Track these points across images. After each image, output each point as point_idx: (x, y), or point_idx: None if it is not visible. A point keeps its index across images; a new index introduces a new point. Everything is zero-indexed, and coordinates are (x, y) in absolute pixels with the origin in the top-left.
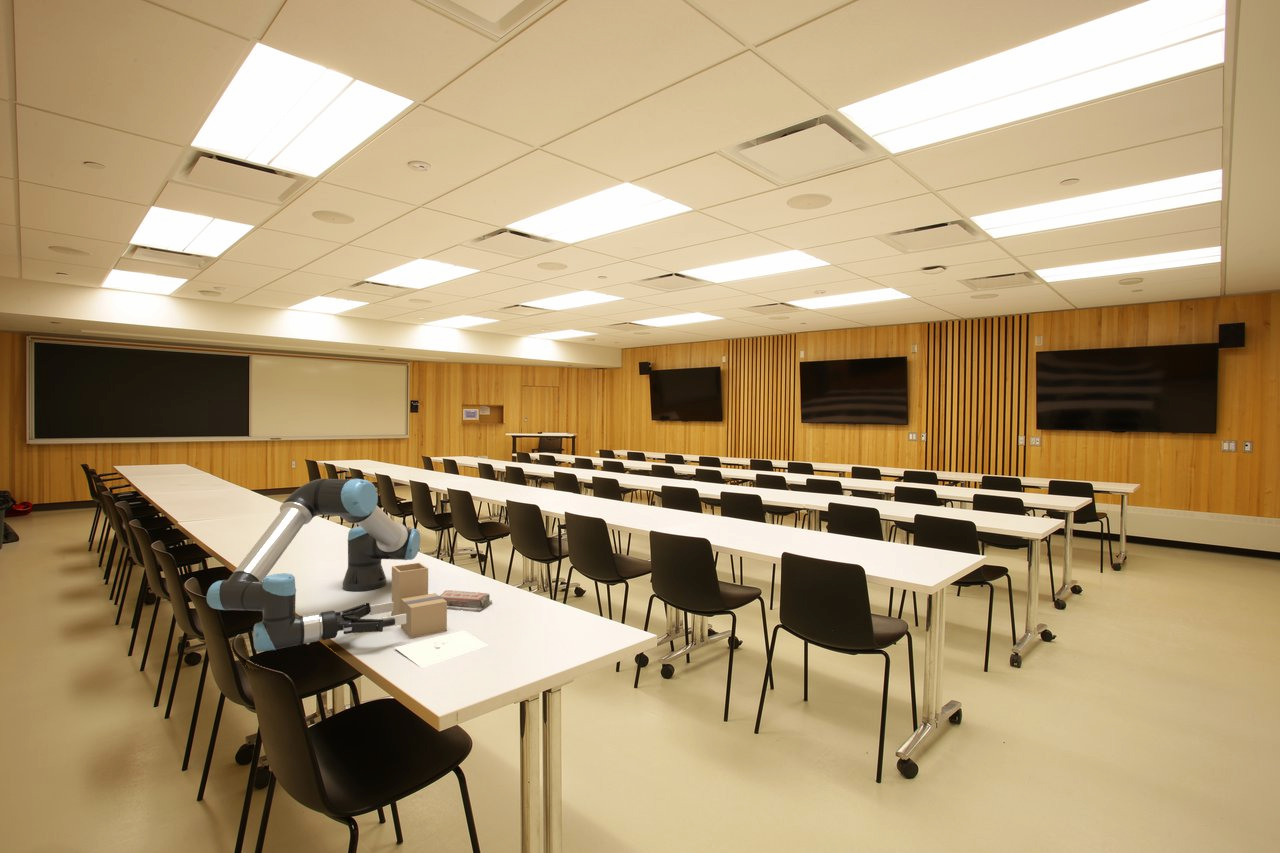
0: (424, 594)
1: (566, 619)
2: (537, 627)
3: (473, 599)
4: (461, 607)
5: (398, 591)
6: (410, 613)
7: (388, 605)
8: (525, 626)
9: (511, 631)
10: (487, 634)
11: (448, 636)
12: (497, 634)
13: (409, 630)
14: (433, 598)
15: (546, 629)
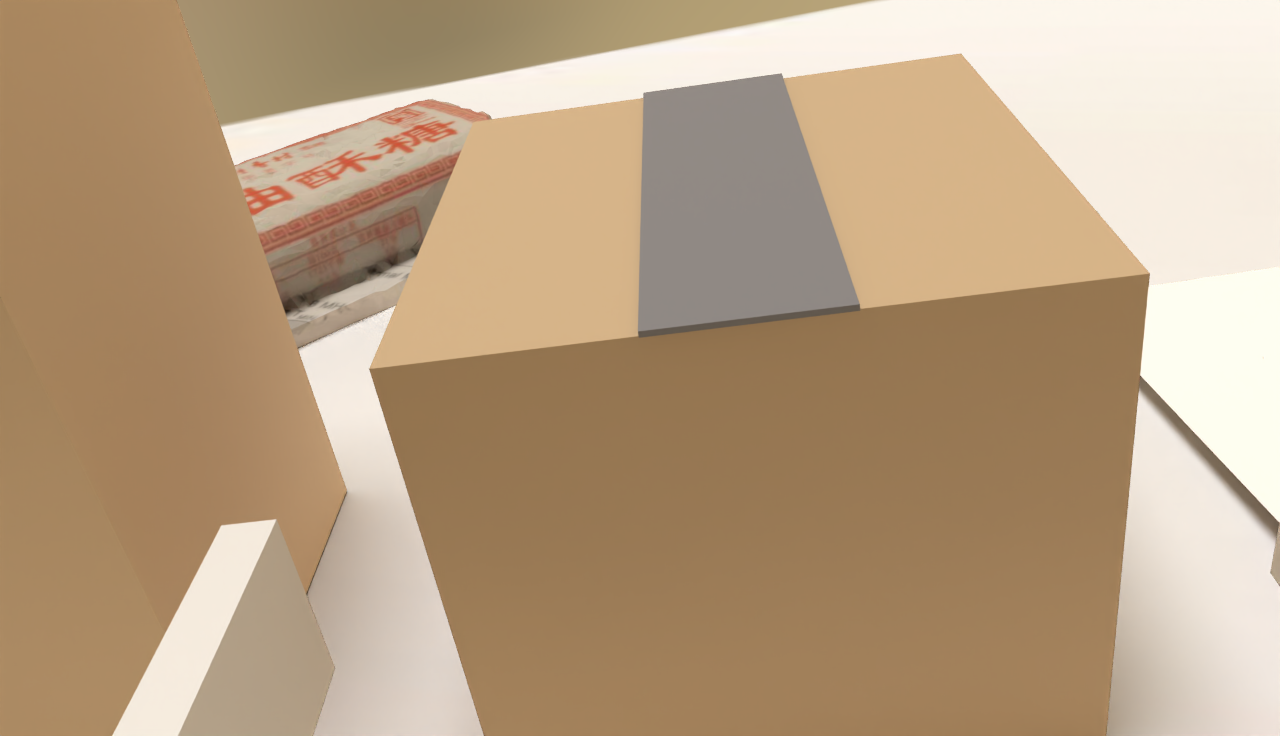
0: (236, 246)
1: (1039, 8)
2: (1144, 67)
3: (457, 155)
4: (389, 274)
5: None
6: (1089, 395)
7: (263, 638)
8: (1093, 95)
9: (1185, 135)
10: (1214, 217)
11: (1237, 398)
12: (1237, 181)
13: (1015, 671)
14: (730, 119)
15: (1206, 47)
